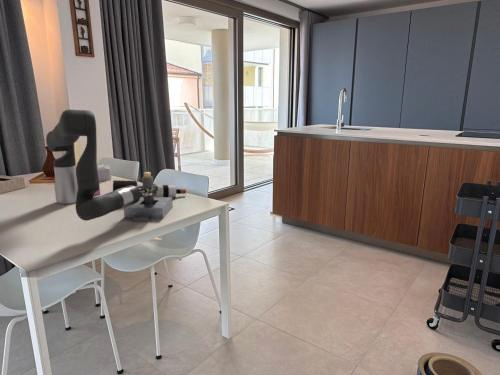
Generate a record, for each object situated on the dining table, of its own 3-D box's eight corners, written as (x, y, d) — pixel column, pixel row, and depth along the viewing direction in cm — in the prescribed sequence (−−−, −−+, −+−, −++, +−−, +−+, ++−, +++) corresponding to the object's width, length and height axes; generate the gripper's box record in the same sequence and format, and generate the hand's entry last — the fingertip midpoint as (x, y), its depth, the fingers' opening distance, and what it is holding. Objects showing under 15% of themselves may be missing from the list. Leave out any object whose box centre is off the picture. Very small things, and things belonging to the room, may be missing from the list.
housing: (120, 221, 141) (119, 210, 139) (140, 203, 164) (140, 194, 163) (160, 221, 140) (159, 211, 139) (174, 204, 163) (174, 194, 162)
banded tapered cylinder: (185, 205, 177) (189, 190, 171) (113, 206, 163) (114, 190, 157) (182, 192, 184) (185, 177, 178) (112, 192, 170) (113, 175, 164)
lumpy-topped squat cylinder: (93, 182, 206) (92, 167, 203) (91, 177, 216) (89, 164, 214) (112, 180, 211) (111, 165, 209) (108, 176, 222) (107, 162, 219)
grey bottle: (142, 210, 149) (140, 173, 146) (146, 207, 154) (143, 171, 150) (153, 210, 149) (150, 173, 145) (156, 207, 154) (153, 171, 150)
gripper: (139, 189, 133) (165, 180, 148) (109, 186, 138) (138, 177, 154) (140, 208, 135) (166, 197, 150) (111, 204, 140) (139, 193, 155)
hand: (152, 187), depth 152 cm, fingers closed on grey bottle, 4 cm apart
